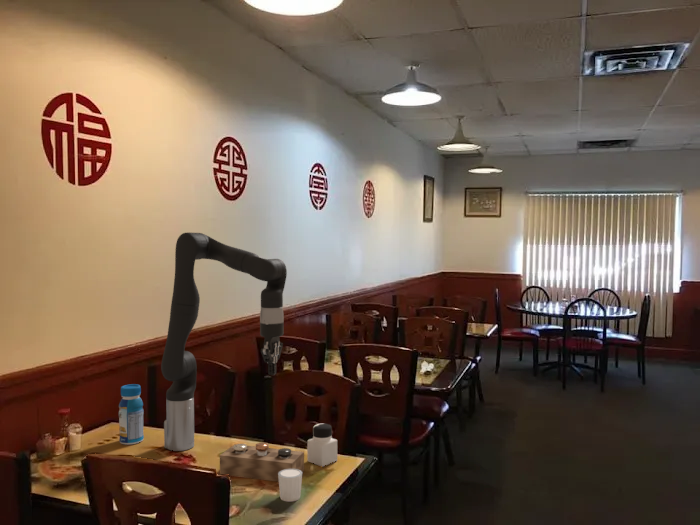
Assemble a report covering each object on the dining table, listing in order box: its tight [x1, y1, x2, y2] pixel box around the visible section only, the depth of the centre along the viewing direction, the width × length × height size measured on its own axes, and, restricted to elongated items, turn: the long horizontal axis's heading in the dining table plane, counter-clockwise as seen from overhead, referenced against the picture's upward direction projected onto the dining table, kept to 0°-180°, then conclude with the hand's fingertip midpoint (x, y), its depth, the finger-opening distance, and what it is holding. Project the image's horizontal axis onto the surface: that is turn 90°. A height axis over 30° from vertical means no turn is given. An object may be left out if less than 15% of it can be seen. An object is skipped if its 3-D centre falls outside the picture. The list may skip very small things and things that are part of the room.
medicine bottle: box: [306, 423, 338, 468], centre depth 194 cm, size 7×7×12 cm
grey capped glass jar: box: [278, 447, 292, 459], centre depth 183 cm, size 4×4×7 cm
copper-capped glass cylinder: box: [255, 442, 270, 456], centre depth 185 cm, size 4×4×7 cm
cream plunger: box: [233, 443, 248, 454], centre depth 187 cm, size 4×4×7 cm
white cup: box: [278, 469, 303, 503], centre depth 167 cm, size 7×7×7 cm
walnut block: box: [219, 444, 305, 483], centre depth 185 cm, size 24×10×6 cm, turn 74°
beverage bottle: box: [118, 383, 145, 446], centre depth 213 cm, size 8×8×20 cm
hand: (272, 374), depth 191 cm, fingers closed
